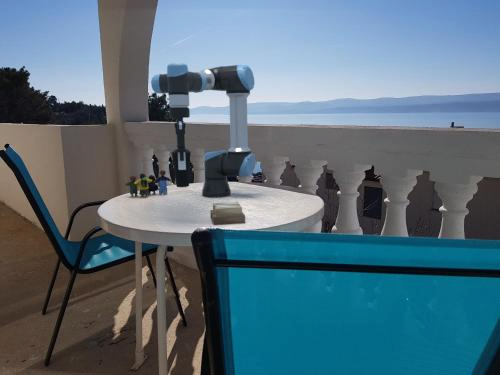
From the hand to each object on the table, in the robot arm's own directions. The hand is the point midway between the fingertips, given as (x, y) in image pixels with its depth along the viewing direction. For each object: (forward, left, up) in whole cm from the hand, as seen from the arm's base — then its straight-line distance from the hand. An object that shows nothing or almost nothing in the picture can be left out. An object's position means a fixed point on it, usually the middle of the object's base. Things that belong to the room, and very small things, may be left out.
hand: (181, 168), depth 142 cm
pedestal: (+3, +17, -21) cm, 27 cm away
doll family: (-53, -15, -21) cm, 59 cm away
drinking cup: (0, 0, -7) cm, 7 cm away
